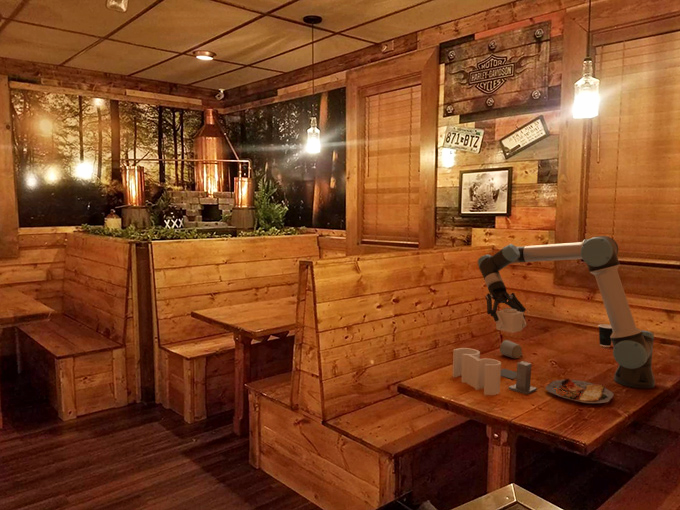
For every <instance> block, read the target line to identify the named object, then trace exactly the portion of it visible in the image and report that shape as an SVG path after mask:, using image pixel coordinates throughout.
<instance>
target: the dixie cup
mask: <svg viewBox="0 0 680 510" xmlns="http://www.w3.org/2000/svg"><path fill="white" fill-rule="evenodd" d="M597 326H598V334H599V335H598V337H599V346H600V347H602V346H603V348H610V347H611V346H612V341H611V337H610V336H611V334H612V333H613V330H612V327H611V324H605V323H604V324H598V325H597Z"/></svg>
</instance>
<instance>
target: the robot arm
mask: <svg viewBox="0 0 680 510" xmlns="http://www.w3.org/2000/svg"><path fill="white" fill-rule="evenodd" d="M618 254H619V245H618V243H617V242H616V240H615V239H614V238H613V237H610V236H606V235H601V236H593V237H591V238H587V239H585V238H584V239H583V240H582V241H577V242H565V243H550V244H538V245H537V244H536V245H524V246H517V245H516V246H515V245H514V244H512V243H509V244H507V245H506V246H503V247H502V248H501V249H499V251H497V252H496V253H495V254H493V255H491V254H484V255H481V256H480V257H479V258H478V260H477V266H478V269H479V271H480V273H481V275H482V279H483V280H484V283H485V285H486V287H487V290H488V293H486V295H485V300H486V313H487V315H490V316H491V317H492V318H493V321H495V322H497V324H498V327H499V329H501V328H502V327H503V326H504V325H503V323H502V320H501V318H500V315H499V313H497V311H498V306H499V304H505V305H507V306H508V307H509V308H512V309H516V310H517V311H519V312H523V325H522V329H524V328H525V327H526V326H527V325H528V324H527V321H526V317H525V314H524V313H525V312H526V311H527V308H526V307H525V306H524V305H523V303H522V302H521V301H520V300H519V299H518V297H516V294H515V293H514V292H512V293H509V292H507V291H508V290H507V288H506V284H505V283H504V281H503V277H502V276H501V274H500V271H501V270H503V269H504V268H506V267H507V266H509V265H512V264H516V263H530V262H531V263H533V262H551V261H571V260H574V261H575V260H583V262H584V263H585V264H586V265H587V269H588V272H589V274H592V275H593V276H594V277H595V280H596V283H597V286H598V290H599V293H600V297H601V299H602V302H603V306H604V308H605V311H606V312H605V313H606V315H607V318H608V321H609V325H611V327H612V330H613V333H612V334H611V336H610V337H611V341H612V342H611V345H612V347H613V349H612V355H613V358H614V360H615V361H616V363H617V364H618V367H617V368H616V370H615V372H614V377H613V381H614V382H615V383H617V384H619V385H622V386H625V387H630V388H634V389H644V390H645V389H647V390H649V389H652V388H655V386H656V385H655V384H656V383H655V382H656V380H655V376H654V372H653V370H652V369H653V368H652V362H653V352H654V351H653V349H654V340H655V338H654V337H655V335H654V333H653V332H652V331H648V330H644V329H640V328H638V327H637V326H636V322H635V321H634V317H633V314H632V311H631V308H630V305H629V301H628V298H627V296H626V292H625V289H624V287H623V284H622V281H621V277H620V274H619V271H618V270H619V267H620V266H621V264H620V261H619V258H618ZM492 300H493V301H492ZM492 304H493V305H492Z"/></svg>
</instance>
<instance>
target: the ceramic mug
mask: <svg viewBox="0 0 680 510" xmlns="http://www.w3.org/2000/svg"><path fill="white" fill-rule="evenodd" d="M499 352H500V354H501V355H503V356H505V357H508V358H511V359H514V360H515V359H518V358H520V357H523V349H522V346H521V345H520V344H518V343H515V342H513V341H511V340H508V339H505V340H503V341H502V342H501V344H500V346H499Z"/></svg>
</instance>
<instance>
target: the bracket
mask: <svg viewBox="0 0 680 510" xmlns="http://www.w3.org/2000/svg"><path fill="white" fill-rule="evenodd" d="M452 353H453V355H452V378H457V377H461V381H460V382H461V383H463V384H464V383H465V384H467V385H469V386H471V387H473V388H474V390H476V391H477V390H480V389H484V390H483V395H484V396H497V395H499V394H501V393H500V392H501V369H502V361H500V360H497V359H494V358H488V357H487V358H485V357H484V358H481V357H480V356H481V351H480V350H478V349H474V348H468V347H460V348H454V349H453V351H452ZM496 394H497V395H496Z"/></svg>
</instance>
